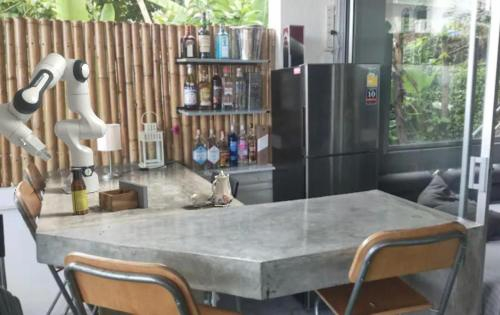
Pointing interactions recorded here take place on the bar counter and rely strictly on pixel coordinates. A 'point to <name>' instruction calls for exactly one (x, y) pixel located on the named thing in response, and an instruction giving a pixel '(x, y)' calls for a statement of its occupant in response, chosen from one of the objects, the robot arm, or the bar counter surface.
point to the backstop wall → (140, 191)
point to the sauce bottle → (79, 193)
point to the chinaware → (216, 192)
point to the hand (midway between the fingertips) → (49, 159)
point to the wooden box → (118, 199)
